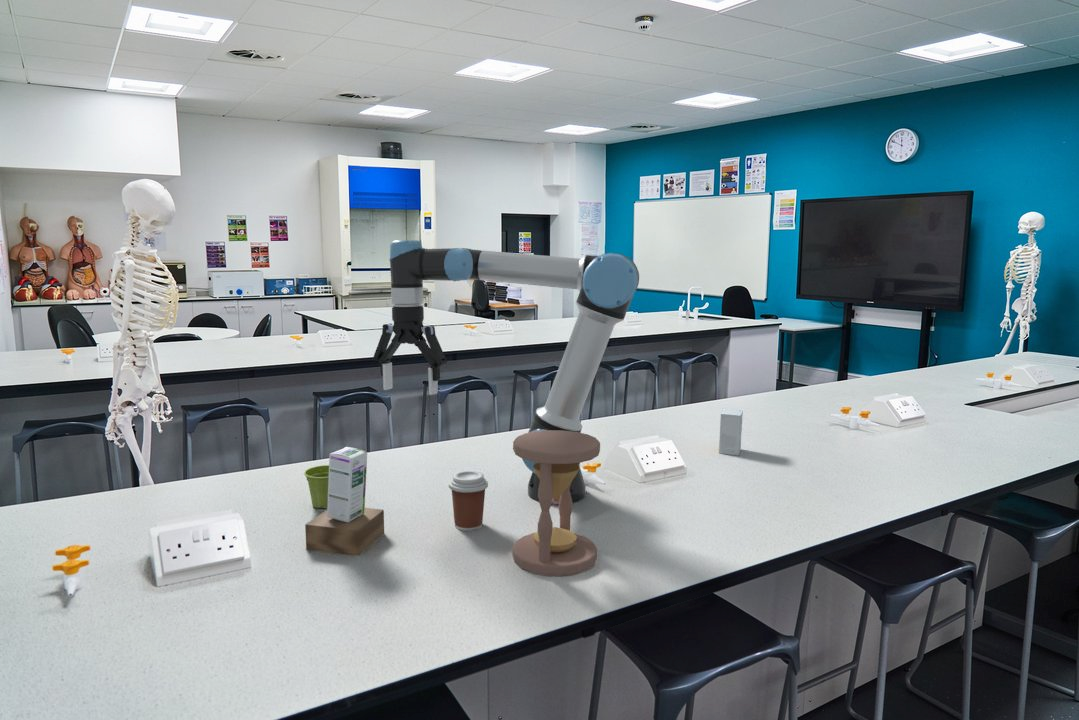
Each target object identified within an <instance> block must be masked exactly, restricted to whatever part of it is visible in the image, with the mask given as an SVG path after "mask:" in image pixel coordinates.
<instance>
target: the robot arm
mask: <svg viewBox="0 0 1079 720" xmlns="http://www.w3.org/2000/svg"><path fill="white" fill-rule="evenodd" d="M389 247H390V249H389V259H388V260H389V266H390V268H389V270H390V295H391V297H390V299H391V304H392V305H393V306H392V307H391V321H393V323H385V324H382V334H381V336H380V339H379V340H378V344H377V347H376V349H375V351H374V355H373V357H372V358H373V361H377V362H379V365H380V376H381V377H382V384H383V385H382V386H383V391H388V390H392V389H393V388H394V384H393V380H394V379H393V362H391V359H392V357H394V355H395V354H396V352H397V350H398V349H399V347H400V346H401V345H402V344H403V345H404V344H408V345H414V347H417V348H418V351H420V353H421V354H422V356H423V357H424V359H425V360H426V362H427V363H428V364H429V366H430V367H428V368H427V371H428V372H427V375H428V376H427V377H428V378H427V379H428V395H429V396H432V395H433V396H434V395H436V394H438V393H439V389H438V388H439V386H438V385H439V384H438V383H439V381H440V380H441V367H442V366H445V365H447V363H448V360H447V358H446V356H445V353H444V351H443V348H442V347H441V344H440V342H439V340H438V337H437V336H436V335H437V334H436V330H435V329H436V328H435V326H434V325H429V326H428V325H427V326H424V324H423V323H424V319H425V317H424V316H425V315H424V313H425V312H424V307H423V305H422V304H423V303H424V288H423V287H424V285H423V283H424V282H423V281H451V282H452V281H453V282H460V281H468V280H474V281H487V282H495V283H496V282H497V283H508V284H518V285H528V286H529V285H530V286H538V287H550V288H559V289H568V290H570V289H572V290H577V291H578V292H579V293H578V296H577V298H576V302H575V304H576V307H577V308H578V309H577V310H578V315H577V318H576V320H575V324H574V326H573V329H572V331H571V334H570V337H569V339H568V342H567V345H566V348H565V350H564V353H563V356H562V359H561V360H560V361H561V362H560V364H559V367H558V368H557V369H558V370H557V372H556V375H555V377H554V380H553V382H552V386H551V388H550V391H549V393H548V396H547V400H546V402H545V404H544V406H541V407H538V408H536V410H535V413H534V415H533V419H532V421H531V424H530V427H529V430H528V432H527V433H530V432H535V431H546V430H563V431H573V432H579V433H582V429H583V425H582V419H581V414H582V411H583V409H584V406H585V403H586V401H587V399H588V396H589V393H590V390H591V387H592V385H593V382H594V379H595V377H596V374H597V372H598V370H599V366H600V364H601V361H602V359H603V356H604V354H605V351H606V348H607V346H608V344H609V340H610V338H611V336H612V333H613V330H614V327H615V325H616V324H618V323H622V322H624V320H625V317H626V315H627V312H628V310H629V307H630V304H631V302H632V299H633V297H634V295H635V293H636V291H637V289H638V287H639V283H640V272H639V270H638V266H637V265H636V263H635V262H634V261H633V259H631V258H630V257H629V256H626V255H624V254H622V253H615V252H607V253H603V254H600V255H590V254H585V255H583V257H580V258H578V257H577V258H576V257H565V256H552V255H541V254H540V255H539V254H528V253H519V252H518V253H516V252H505V251H504V252H503V251H495V250H479V249H472V248H467V247H466V248H464V247H463V248H462V247H461V248H460V247H453V248H424V247H423V246H422V241H420V240H415V239H414V240H411V239H410V240H408V239H407V240H403V239H402V240H399V239H398V240H396V239H395V240H393V241H391V243H390V246H389ZM393 333H394V334H395V335H393ZM392 335H393V338H392ZM424 335H425V337H424ZM521 459H522V458H521ZM522 461H523V463H524V465H525V467H526V468H527V469H528V470H530V472H531V474H530V478H529V481H528V484H527V495H528V496H529V497H530V498H531V499H533V500H535V501H538V502H539V499H538V488H539V483H540V479H539V477H538V476H537V474H536V472H535V470H534V467H533V465H534V464H535V463H537V462H532V461H529V460H525V459H522ZM577 464H578V465H579V466H580V463H577ZM586 488H587V487H586V483H585V479H584V476H583V472H582V469H581V467H579V469H578V472H577V474H576V476H575V477H574V479H573V480H572V482H571V485H570V489H569V490H570V494H571V498H572V503H574V502H575V503H576V502H578V501H581V500H583V499H584V498H585V497H586V494H587V493H586V492H587V490H586ZM559 499H560V497H559Z"/></svg>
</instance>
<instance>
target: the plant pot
mask: <svg viewBox="0 0 1079 720" xmlns="http://www.w3.org/2000/svg"><path fill="white" fill-rule="evenodd" d="M303 475H304V476H305V478H306V481H307V483H308V488H309V493H310V500H311V505H312V507H314V508H316V509H320V508H322V509H327V507H328V506H327V505H328V479H329V464H324V465H317V466H312V467H310V468H308V469H306V470H304V472H303Z"/></svg>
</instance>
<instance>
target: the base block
mask: <svg viewBox="0 0 1079 720" xmlns="http://www.w3.org/2000/svg"><path fill="white" fill-rule="evenodd" d="M304 525H305V526H304V527H305V549H306V551H314V552H319V553H329V554H334V555H335V554H336V555H337V554H338V555H345V556H353V557H359V556H361V555H362V554H363V553H364V552H365V551H366V550H367V549H369V548H370V547H371V546H373V544H375V543H376V541H378V540H379V539H381V537H382V536H384V535H385V511H384V509H381V508H373V507H372V508H371V507H365V510H364V514H363V515H361V516H359V517H357V518H355V519H354V520H352V521H350V522H349V523H347V522H344V521H340V520H336V519H333V518H330V517H328V516H327V509H326V510H325V511H323V512H321V513H320V514H319V515H316V516H315V517H314V518H312V519H311V520H310V521H308V522H307V523H305V524H304Z"/></svg>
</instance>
